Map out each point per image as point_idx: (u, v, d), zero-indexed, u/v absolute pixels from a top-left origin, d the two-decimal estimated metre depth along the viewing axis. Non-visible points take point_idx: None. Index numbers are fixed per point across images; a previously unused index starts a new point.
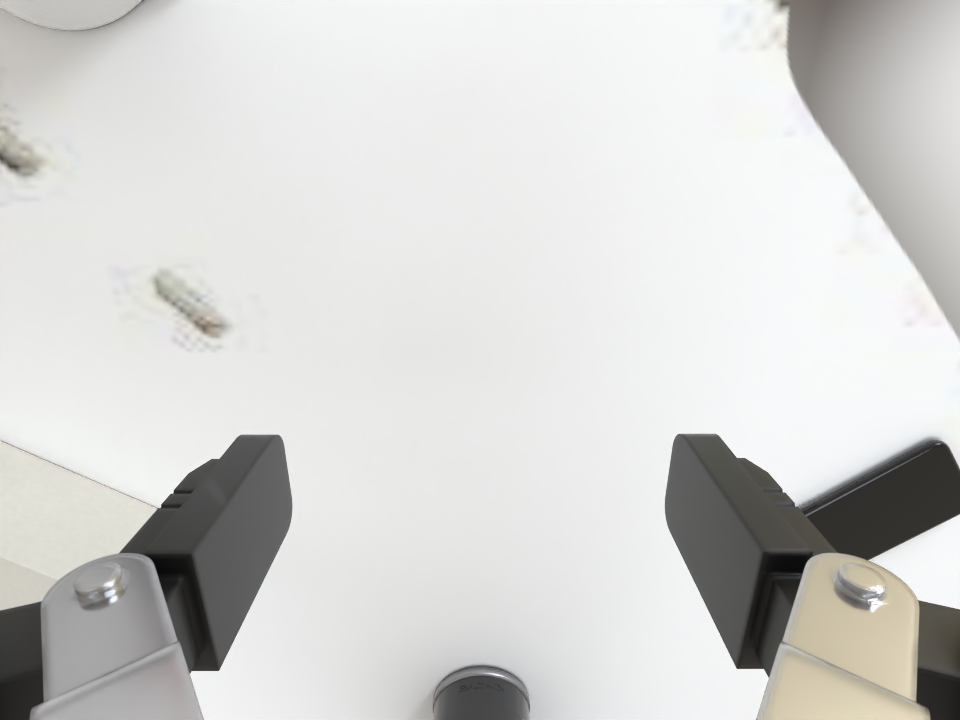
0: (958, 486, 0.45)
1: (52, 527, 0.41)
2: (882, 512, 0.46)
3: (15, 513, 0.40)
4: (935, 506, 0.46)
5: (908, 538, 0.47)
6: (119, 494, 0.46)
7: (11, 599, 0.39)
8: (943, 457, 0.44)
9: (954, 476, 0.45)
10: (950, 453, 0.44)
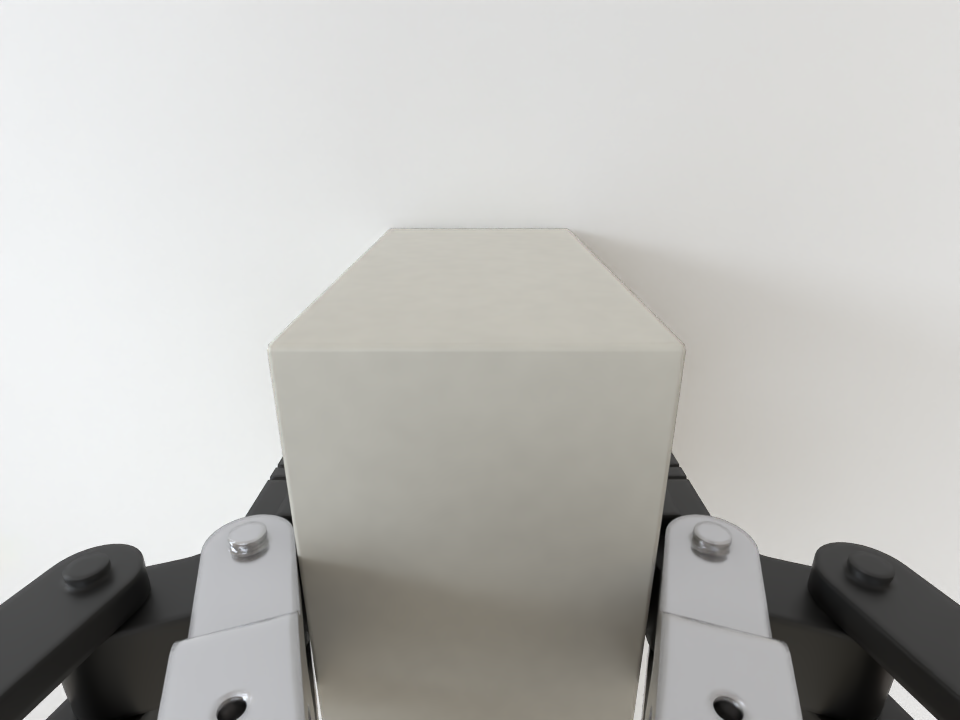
0: None
1: None
2: None
3: None
4: None
5: None
6: None
7: None
8: None
9: None
10: None
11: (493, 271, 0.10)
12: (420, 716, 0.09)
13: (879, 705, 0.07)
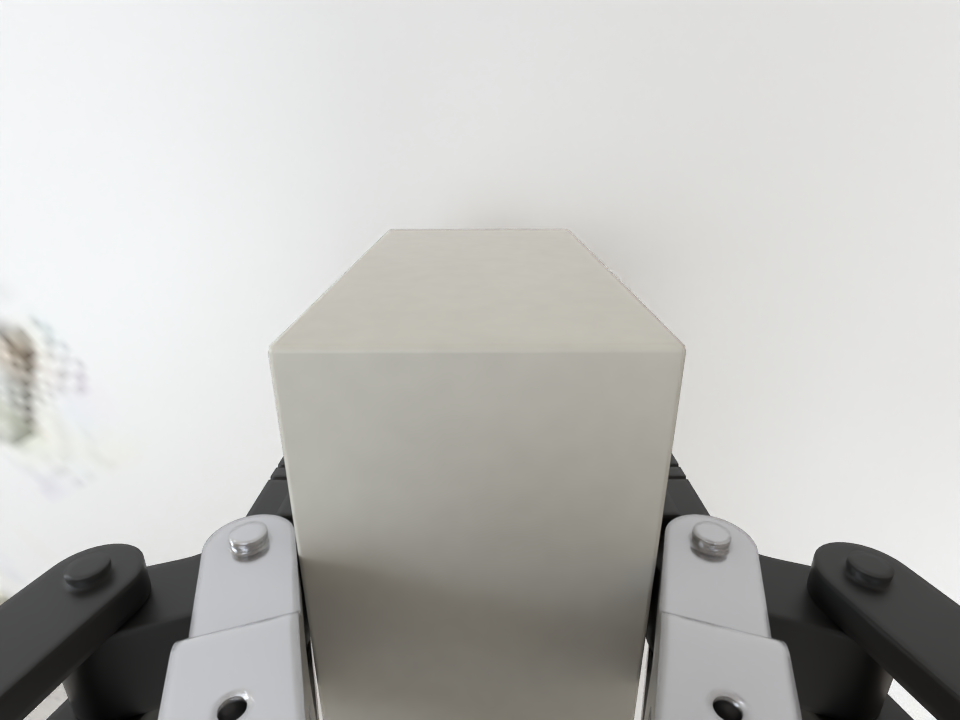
0: None
1: None
2: None
3: None
4: None
5: None
6: None
7: None
8: None
9: None
10: None
11: (493, 272, 0.10)
12: (420, 717, 0.09)
13: (879, 705, 0.07)
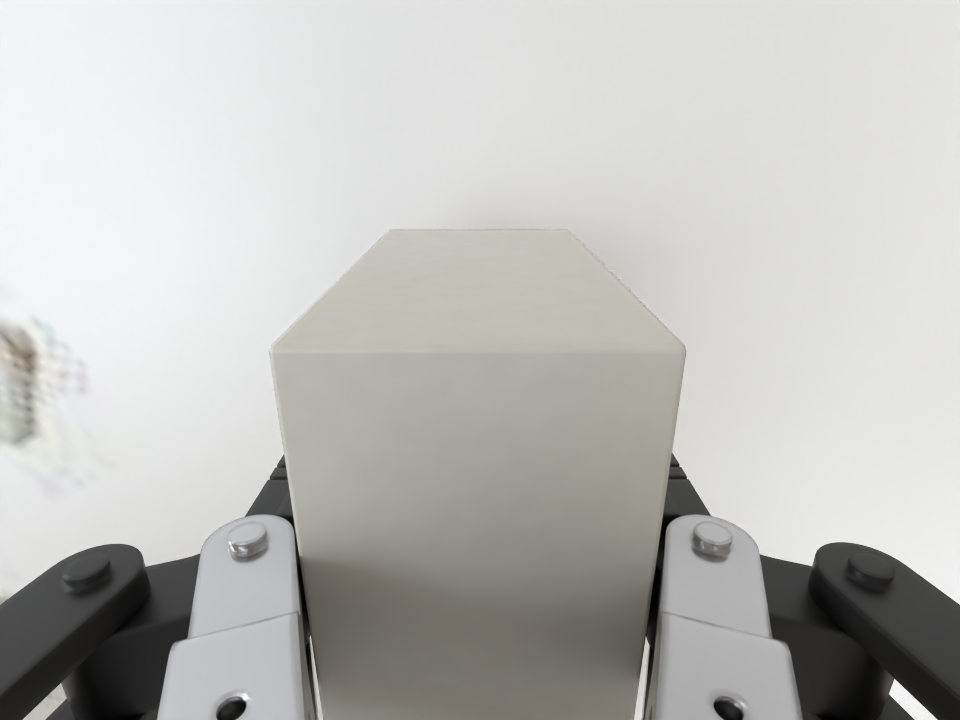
0: None
1: None
2: None
3: None
4: None
5: None
6: None
7: None
8: None
9: None
10: None
11: (493, 272, 0.10)
12: (421, 717, 0.09)
13: (880, 705, 0.07)
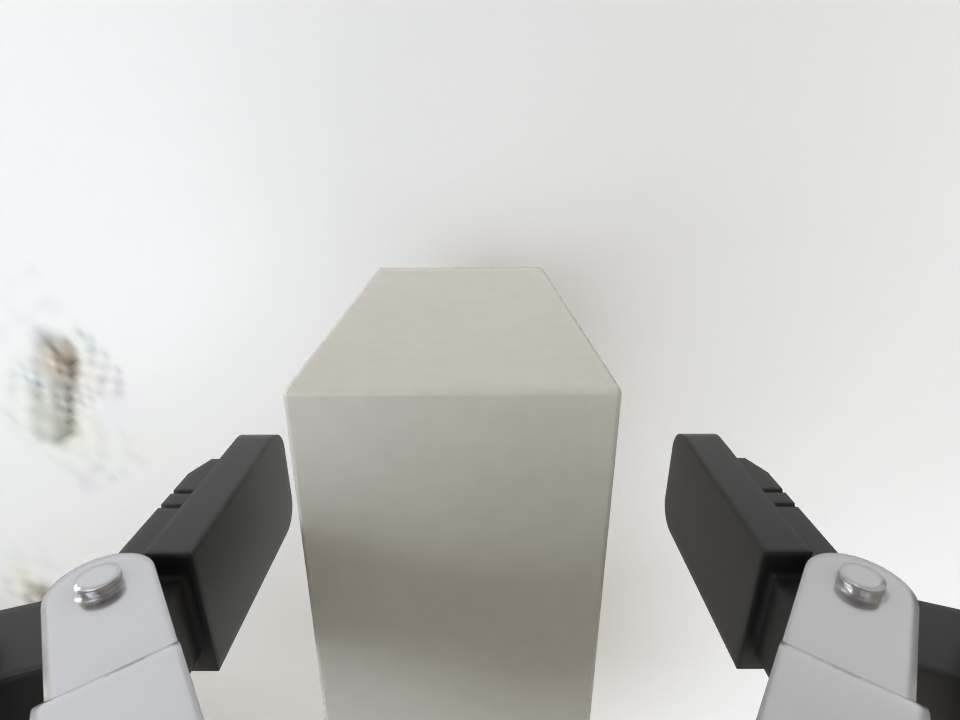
0: None
1: None
2: None
3: None
4: None
5: None
6: None
7: None
8: None
9: None
10: None
11: (471, 316, 0.12)
12: (408, 703, 0.10)
13: None
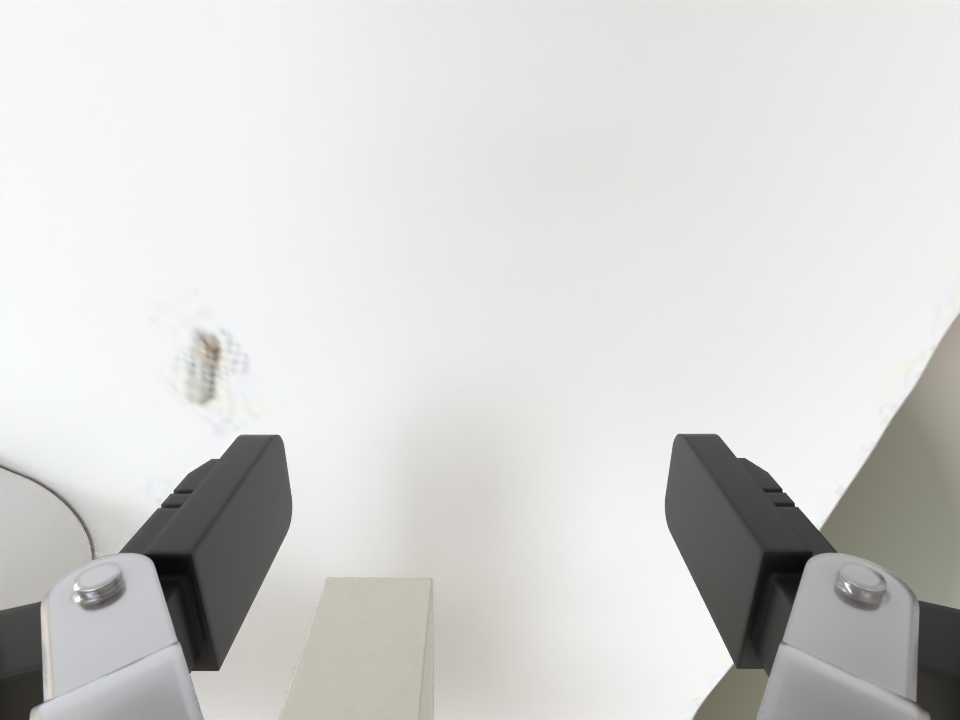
0: None
1: None
2: None
3: None
4: None
5: None
6: None
7: None
8: None
9: None
10: None
11: (364, 683, 0.20)
12: None
13: None
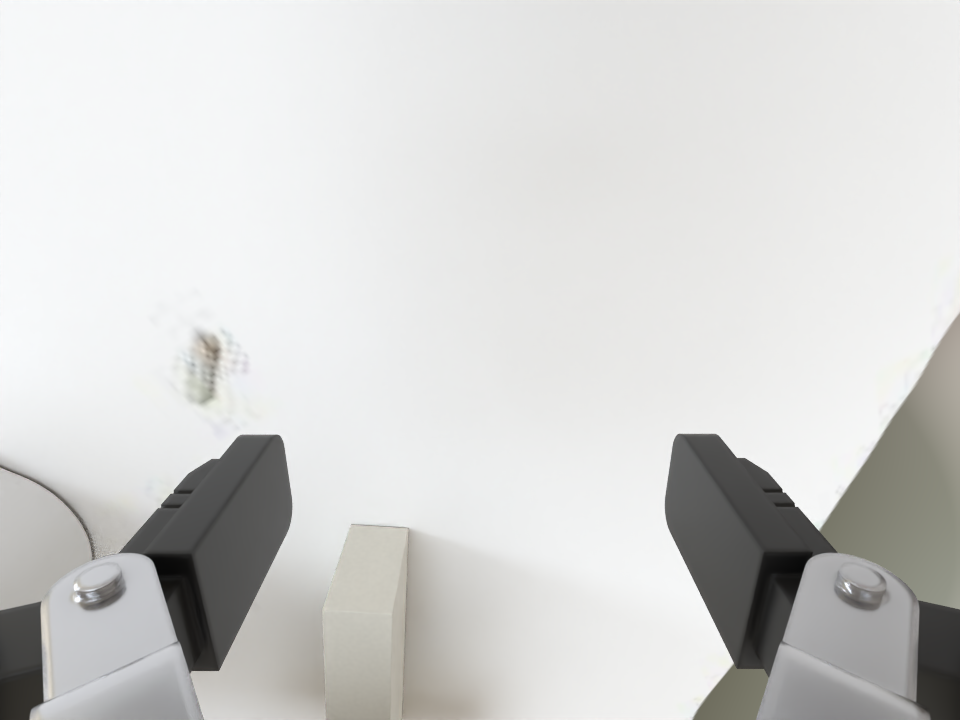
0: None
1: None
2: None
3: None
4: None
5: None
6: None
7: (370, 699, 0.41)
8: None
9: None
10: None
11: (371, 571, 0.42)
12: (345, 675, 0.40)
13: None
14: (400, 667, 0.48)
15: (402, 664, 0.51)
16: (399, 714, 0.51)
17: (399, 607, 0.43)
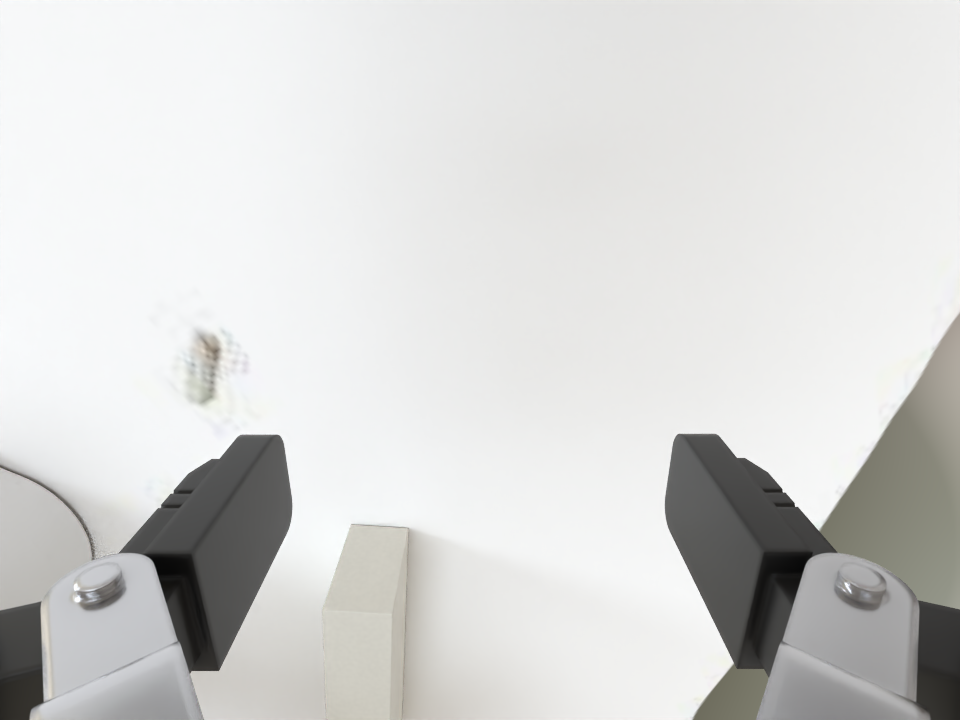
0: None
1: None
2: None
3: None
4: None
5: None
6: None
7: (370, 699, 0.41)
8: None
9: None
10: None
11: (371, 571, 0.42)
12: (345, 675, 0.40)
13: None
14: (400, 667, 0.48)
15: (402, 664, 0.51)
16: (399, 714, 0.51)
17: (399, 607, 0.43)
